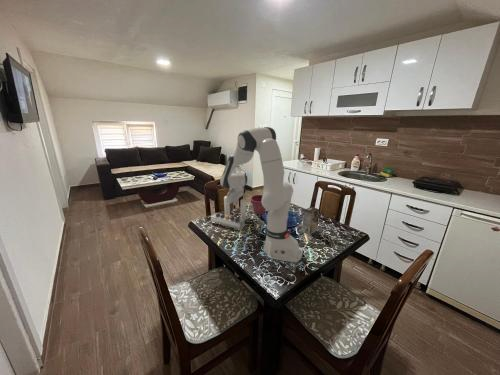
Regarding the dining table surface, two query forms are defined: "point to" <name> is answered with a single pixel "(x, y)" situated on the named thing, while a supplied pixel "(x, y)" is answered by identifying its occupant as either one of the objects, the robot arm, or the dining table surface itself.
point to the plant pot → (257, 204)
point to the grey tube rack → (228, 220)
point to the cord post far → (226, 206)
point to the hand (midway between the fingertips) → (235, 204)
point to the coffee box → (310, 220)
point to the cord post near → (243, 208)
